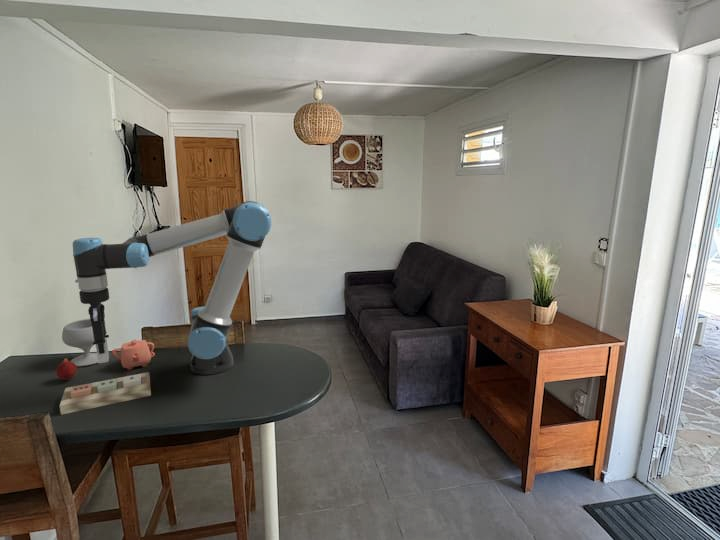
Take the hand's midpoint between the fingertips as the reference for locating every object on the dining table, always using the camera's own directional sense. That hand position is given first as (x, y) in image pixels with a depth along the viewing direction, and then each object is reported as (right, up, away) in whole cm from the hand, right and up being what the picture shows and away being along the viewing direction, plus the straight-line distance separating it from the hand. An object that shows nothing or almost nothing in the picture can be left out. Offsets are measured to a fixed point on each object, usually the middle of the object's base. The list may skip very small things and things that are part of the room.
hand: (103, 360), depth 130 cm
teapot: (-3, -8, +24) cm, 26 cm away
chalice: (-24, -7, +29) cm, 38 cm away
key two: (0, -11, +2) cm, 11 cm away
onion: (-21, -10, +13) cm, 27 cm away
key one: (+6, -10, +6) cm, 13 cm away
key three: (-6, -11, -1) cm, 13 cm away
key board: (0, -12, +3) cm, 12 cm away
